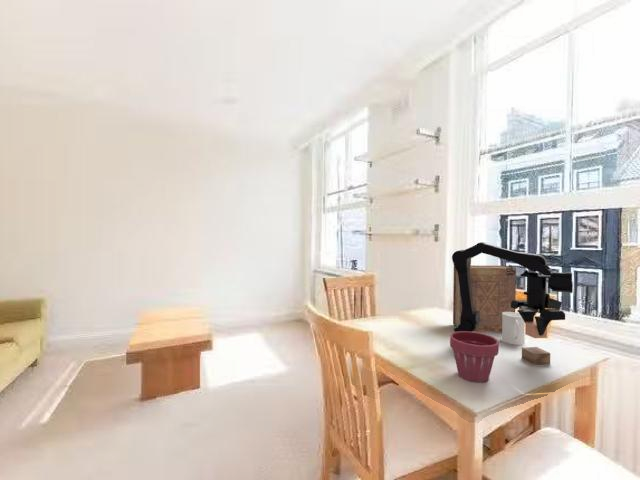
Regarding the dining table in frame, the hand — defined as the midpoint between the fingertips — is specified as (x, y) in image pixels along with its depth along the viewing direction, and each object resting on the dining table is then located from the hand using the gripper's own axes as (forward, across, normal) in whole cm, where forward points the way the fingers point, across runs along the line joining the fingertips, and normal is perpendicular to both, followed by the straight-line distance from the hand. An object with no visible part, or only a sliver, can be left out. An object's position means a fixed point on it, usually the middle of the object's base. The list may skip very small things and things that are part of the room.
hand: (535, 333), depth 114 cm
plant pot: (+11, -7, +28) cm, 31 cm away
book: (+11, +40, -6) cm, 42 cm away
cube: (+1, 0, 0) cm, 1 cm away
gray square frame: (+11, 0, 0) cm, 11 cm away
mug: (+11, +19, -6) cm, 23 cm away
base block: (+10, 0, 0) cm, 10 cm away
